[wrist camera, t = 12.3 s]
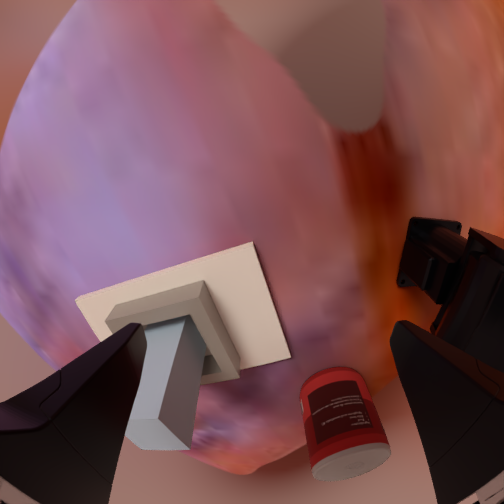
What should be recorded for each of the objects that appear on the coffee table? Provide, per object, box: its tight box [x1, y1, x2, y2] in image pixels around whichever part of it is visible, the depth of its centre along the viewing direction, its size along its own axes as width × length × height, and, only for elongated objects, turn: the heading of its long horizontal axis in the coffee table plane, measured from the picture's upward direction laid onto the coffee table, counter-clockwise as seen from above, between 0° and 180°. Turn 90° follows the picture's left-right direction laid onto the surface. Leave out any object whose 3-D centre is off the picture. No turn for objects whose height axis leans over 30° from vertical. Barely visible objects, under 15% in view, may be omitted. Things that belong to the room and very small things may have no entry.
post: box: [125, 314, 206, 450], centre depth 19 cm, size 4×4×11 cm
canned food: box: [300, 367, 391, 481], centre depth 23 cm, size 8×8×11 cm
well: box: [75, 242, 291, 385], centre depth 23 cm, size 18×12×3 cm, turn 108°
